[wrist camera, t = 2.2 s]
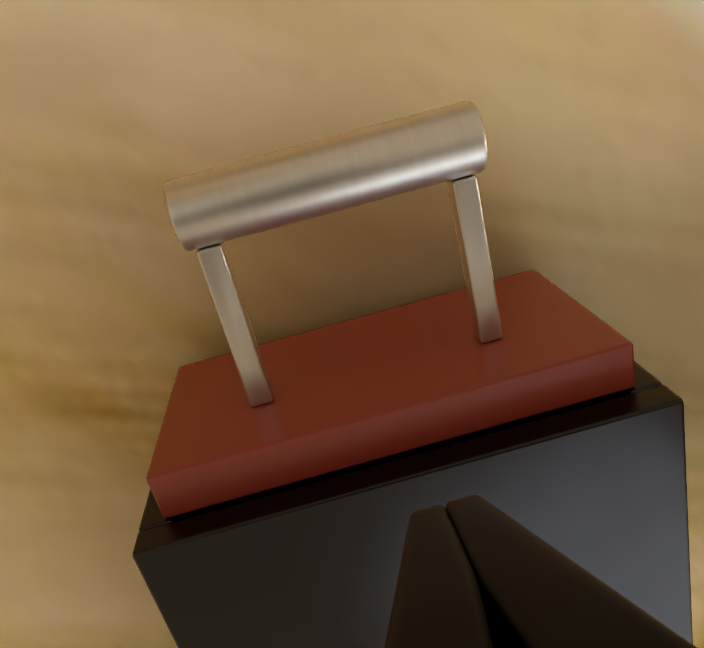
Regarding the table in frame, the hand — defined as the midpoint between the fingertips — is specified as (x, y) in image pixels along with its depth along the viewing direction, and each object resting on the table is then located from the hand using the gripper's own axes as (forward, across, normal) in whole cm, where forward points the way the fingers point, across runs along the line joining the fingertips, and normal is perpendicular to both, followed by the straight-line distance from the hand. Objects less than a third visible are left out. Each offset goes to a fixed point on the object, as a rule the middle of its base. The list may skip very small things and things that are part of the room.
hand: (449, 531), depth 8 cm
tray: (+12, 0, +6) cm, 13 cm away
